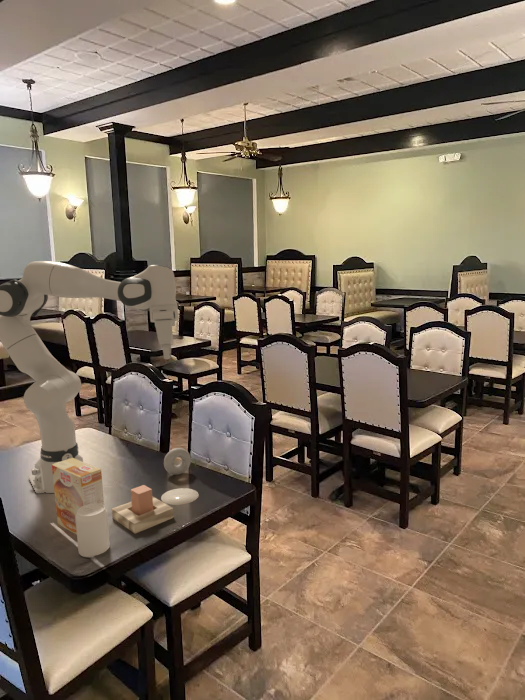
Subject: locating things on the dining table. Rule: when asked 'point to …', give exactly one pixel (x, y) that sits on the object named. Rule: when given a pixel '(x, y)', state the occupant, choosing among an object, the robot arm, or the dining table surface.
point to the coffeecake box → (75, 489)
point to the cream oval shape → (179, 496)
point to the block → (141, 500)
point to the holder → (142, 516)
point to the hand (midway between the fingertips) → (167, 359)
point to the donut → (182, 466)
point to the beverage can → (92, 530)
